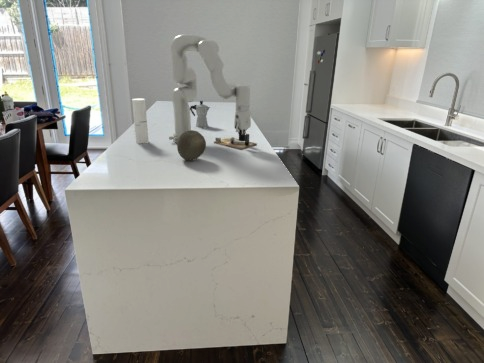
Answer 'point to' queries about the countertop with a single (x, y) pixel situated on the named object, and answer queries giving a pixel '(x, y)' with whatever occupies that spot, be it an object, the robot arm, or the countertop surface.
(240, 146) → the plate
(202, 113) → the coffee maker
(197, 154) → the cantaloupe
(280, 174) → the countertop surface
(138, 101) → the cylindrical container
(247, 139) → the swing bar
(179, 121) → the robot arm
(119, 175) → the countertop surface
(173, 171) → the countertop surface
